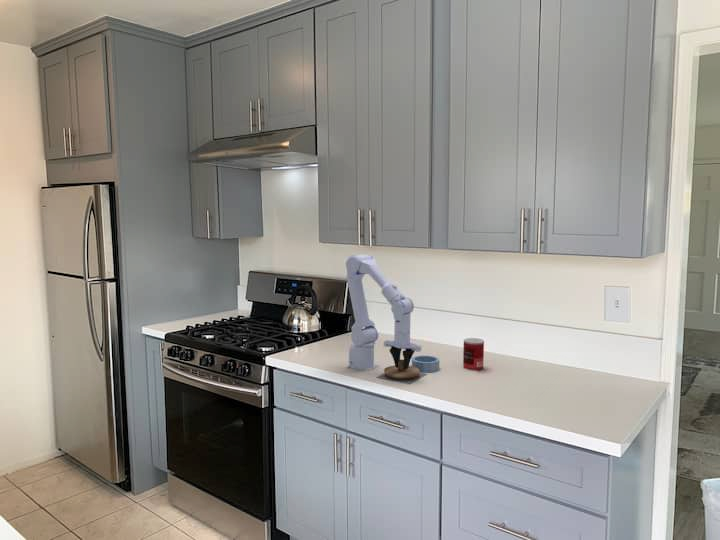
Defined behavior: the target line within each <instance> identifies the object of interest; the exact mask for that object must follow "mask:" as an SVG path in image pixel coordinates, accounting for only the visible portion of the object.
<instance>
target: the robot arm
mask: <svg viewBox="0 0 720 540" xmlns="http://www.w3.org/2000/svg"><path fill="white" fill-rule="evenodd" d="M345 267H346V271H347V272H346V281H347V286H348V290H349V295H350V300H351V306H352V311H353V316H354V320H355V321H354V323H353V325H352V326H351V327H350V328H351V342H352V344H351V345H350V346H349V348H348V349H349V350H348V366H347V367H348V368H349V367H350V368H349V369H356V370H362V371H368V372H369V371H371V370H373V369H375V368H377V367H378V366H379V364H375V345H376V342H377V341H378V339H379V332H378V329H377V328H376V326H375V323H374V321H372V320H371V319H370V318H369V317H370V316H369V312H368V307H367V302H366V301H367V300H366V297H365V290H364V285H363V282H362V280H363V278H364V277H365V275H368V276H370V277H371V278H372V280H374V281H375V283H376V284H377V285H378V286H379V287H380V288H381V294H382V296H383V297H384V298H385V299H386V301H387V302H388V303H389V304H390V306H391V307H390V309H391V313H392V315H393V319H394V336H393V337H394V338H393V339H394V340H384V341H383V347H386V348H387V347H388V348H389V353H390V355H391V356H392V359H393V363H394V365H395V367H396V368H398V360H401V353H402V356H403V360H404V369H408V367H409V366H410V362H411V361H412V358H413V355H414V354H415V352H419V353H420V352H421V351H422V345H421V344H417V343H412V342H411V313H413V311H414V308H415V305H414V303H413V300H412V299H411V298H409V297H406V296H405V294H403V293H402V292H401V290H400V289H399V288H398V285H397V284H395V283H393V282H389V280H388V279H387V278H386V276H385V275H384V274H383V272H382V270H381V268H379V266H378V265H377V260H376V259H375V258H374V256H373V255H372V254H370V253H365V254H358V255H357V254H355V255H354V254H353V255H350V256H349V257H348V259H346V261H345Z"/></svg>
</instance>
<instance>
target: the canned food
mask: <svg viewBox="0 0 720 540" xmlns="http://www.w3.org/2000/svg"><path fill="white" fill-rule="evenodd" d="M484 351H485V341H484V339H482V338H477V337H469V338H465V339H463V351H462V352H463V354H462V355H463V358H462V359H463V360H462V361H463V363H462V365H463V368H464V369H466V370H469V371H470V370H471V371H472V370H473V371H481V370H483V367H484V358H485V357H484V356H485V355H484V353H485V352H484Z"/></svg>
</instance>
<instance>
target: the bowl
mask: <svg viewBox="0 0 720 540" xmlns="http://www.w3.org/2000/svg"><path fill="white" fill-rule="evenodd" d="M411 366H413V367H416V368H418V369H419V370H420V373H435V372H438V371H439V370H440V358H439V357H438V356H437V357H436V356H434V355H423V354H421V355H415V356H412V357H411Z"/></svg>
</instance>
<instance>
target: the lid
mask: <svg viewBox="0 0 720 540" xmlns="http://www.w3.org/2000/svg"><path fill="white" fill-rule="evenodd" d="M420 373H421V372H420V370H419V369H418V368H416V367H413V366H412V365H409V367H408V369H404V359H401V358H400V360H398V368H396V367H395V364H394V365H389V366H387V367H385V368H383V374H385V375H387V376H390V377H394V378H412V377H416V376H418V375H419V374H420Z"/></svg>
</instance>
